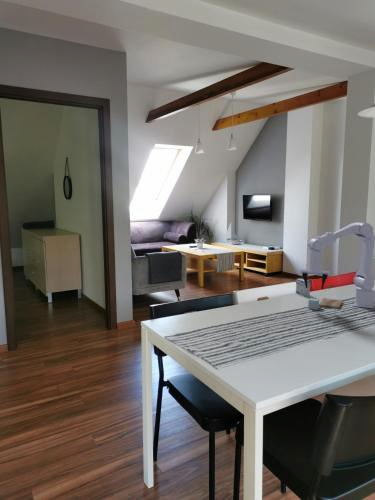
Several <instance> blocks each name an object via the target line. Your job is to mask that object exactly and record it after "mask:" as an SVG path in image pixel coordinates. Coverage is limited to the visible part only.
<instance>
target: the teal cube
mask: <svg viewBox="0 0 375 500" xmlns="http://www.w3.org/2000/svg"><path fill="white" fill-rule="evenodd" d="M319 304H320V299H319V298H313V297H310V298H308V306H307V307H308V309H309V310H319V308H320V306H319Z"/></svg>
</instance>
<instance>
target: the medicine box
mask: <svg viewBox="0 0 375 500" xmlns="http://www.w3.org/2000/svg"><path fill="white" fill-rule="evenodd" d="M307 283H308V287H307V288H306V286H305V282H304V279H303V278H296V284H295V294H297V295H300V294H301V295H300V296H302V295H303V297H305V296H306V297H307V296H310V295H311V293H310V292H311V281H310V280H309V279H307Z"/></svg>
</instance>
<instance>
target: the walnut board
mask: <svg viewBox="0 0 375 500" xmlns="http://www.w3.org/2000/svg"><path fill="white" fill-rule="evenodd" d="M343 302H344V301H343V300H342V299H334V298H333V299H332V298H322V299H321V301H320V302H319V308H320V307H321V308H330V309H338V310H340V309H341V306H342V305H343Z"/></svg>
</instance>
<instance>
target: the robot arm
mask: <svg viewBox="0 0 375 500" xmlns="http://www.w3.org/2000/svg"><path fill="white" fill-rule="evenodd" d="M350 234H354V235H356V236H358V237H359V238H360V240H362V245H361V253H360V261H359V268H358V269H359V270H358V271H357V272H355V276H354V277H353V285H355V299H354V303H353V306H354V307H359V308H367V309H374V308H375V290H374V289H373V288H374V286H375V280H374V277H375V276H374V275H373V272H372V264H373V257H374V249H375V234H374V226H372V225H371V224H370V223H368V222H359V221H354V222H351V223H350V224H347V225H346V226H344V227H343V228H340V229H338V230H337V231H335V232H331V231H327V232H325V233H324V234H323V235H321V236H320V235H318V236H317V237H316V238H312V239H310V241H309V242H308V244H307V246H308V249H309V265H308V267H309V269H299V272H300V273H299V274H300V275H301V276H302V279H304V282H305V286H306V288H307V287H308V283H307V280H309V279H308V277H309V275H320V276H322V277H321V279H322V280H321V290H324V286H325V283H326V281H327V279H328V276H331V271H330V270H329V271H328V270H323V269H322V255H323V253H322V252H323V250H324V248H326V247H328V246H330V245H332V244H333V243H336V241H337V239H339V238H343V237H344V236H347V235H350Z"/></svg>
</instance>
